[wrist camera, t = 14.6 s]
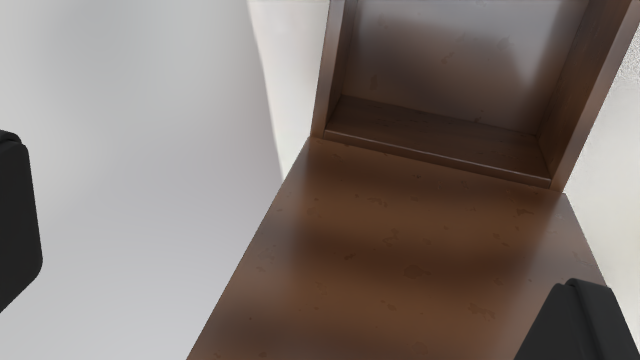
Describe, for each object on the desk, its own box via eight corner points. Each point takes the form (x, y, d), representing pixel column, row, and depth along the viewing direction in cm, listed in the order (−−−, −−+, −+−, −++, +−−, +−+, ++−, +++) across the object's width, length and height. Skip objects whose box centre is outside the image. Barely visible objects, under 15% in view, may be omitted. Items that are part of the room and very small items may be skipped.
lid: (181, 366, 15) (178, 469, 18) (708, 510, 14) (626, 601, 16) (308, 135, 30) (297, 208, 33) (565, 193, 29) (534, 264, 31)
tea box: (377, -190, 28) (361, -208, 22) (659, -145, 27) (720, -152, 21) (330, 97, 37) (309, 138, 31) (541, 143, 35) (561, 195, 29)
